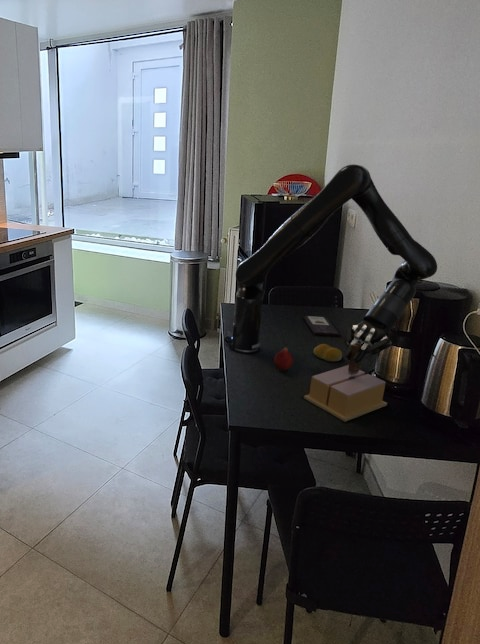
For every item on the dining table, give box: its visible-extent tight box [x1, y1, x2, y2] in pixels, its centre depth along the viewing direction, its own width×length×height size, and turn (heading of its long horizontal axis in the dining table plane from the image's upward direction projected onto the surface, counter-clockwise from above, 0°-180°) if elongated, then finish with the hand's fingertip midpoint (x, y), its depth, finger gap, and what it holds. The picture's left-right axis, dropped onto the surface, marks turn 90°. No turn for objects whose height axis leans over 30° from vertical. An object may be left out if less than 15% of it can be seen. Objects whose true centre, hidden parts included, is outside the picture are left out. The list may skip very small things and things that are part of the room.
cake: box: [303, 364, 388, 423], centre depth 138 cm, size 18×14×7 cm
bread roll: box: [313, 343, 343, 362], centre depth 168 cm, size 8×9×4 cm
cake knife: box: [348, 344, 363, 380], centre depth 138 cm, size 3×2×16 cm, turn 118°
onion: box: [273, 347, 294, 372], centre depth 157 cm, size 6×6×8 cm
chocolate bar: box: [303, 315, 340, 337], centre depth 194 cm, size 9×1×18 cm
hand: (350, 360), depth 135 cm, fingers closed on cake knife, 2 cm apart
